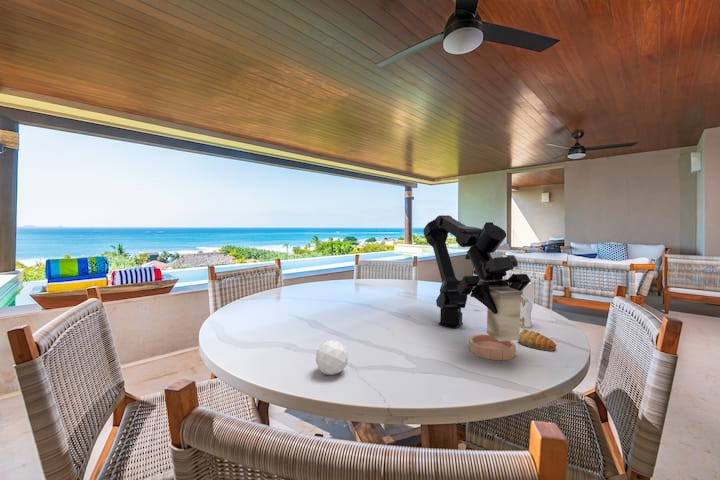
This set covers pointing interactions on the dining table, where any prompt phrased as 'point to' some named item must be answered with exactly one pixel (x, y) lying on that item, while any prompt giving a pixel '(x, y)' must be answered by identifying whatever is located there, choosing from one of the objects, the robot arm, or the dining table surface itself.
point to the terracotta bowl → (491, 347)
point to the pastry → (536, 340)
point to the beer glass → (526, 305)
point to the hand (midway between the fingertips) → (506, 312)
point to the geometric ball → (331, 357)
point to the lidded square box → (504, 314)
